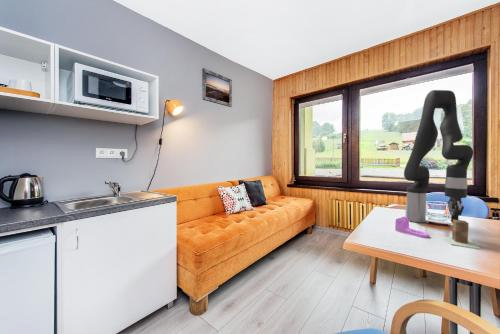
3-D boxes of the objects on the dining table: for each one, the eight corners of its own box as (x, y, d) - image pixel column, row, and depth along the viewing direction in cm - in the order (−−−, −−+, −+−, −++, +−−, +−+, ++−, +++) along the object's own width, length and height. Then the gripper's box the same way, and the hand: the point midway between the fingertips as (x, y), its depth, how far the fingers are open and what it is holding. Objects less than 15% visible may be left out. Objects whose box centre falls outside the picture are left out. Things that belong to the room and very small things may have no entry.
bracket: (395, 230, 108) (395, 217, 108) (400, 228, 111) (401, 216, 111) (426, 238, 97) (426, 224, 97) (431, 236, 100) (431, 222, 100)
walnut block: (455, 241, 92) (456, 221, 92) (452, 238, 96) (452, 219, 96) (467, 243, 90) (468, 223, 90) (464, 240, 94) (464, 220, 94)
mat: (450, 244, 90) (451, 243, 90) (443, 237, 99) (443, 236, 99) (480, 249, 86) (480, 248, 86) (470, 240, 94) (470, 240, 94)
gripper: (472, 189, 91) (471, 228, 92) (461, 185, 103) (459, 220, 104) (449, 188, 95) (448, 225, 96) (441, 185, 107) (440, 218, 107)
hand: (454, 222), depth 100 cm, fingers closed
